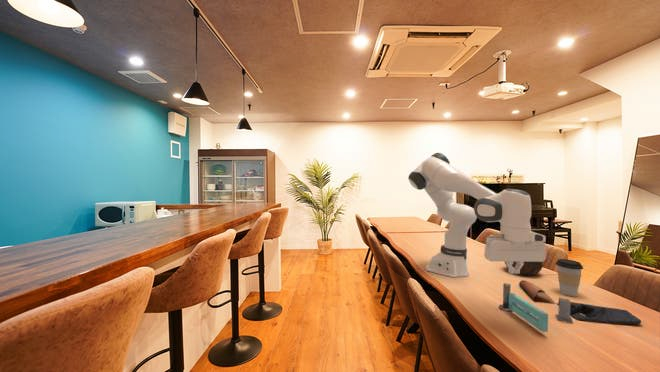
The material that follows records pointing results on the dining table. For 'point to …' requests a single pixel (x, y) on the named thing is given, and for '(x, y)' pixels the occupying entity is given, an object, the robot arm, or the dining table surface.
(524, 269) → the dark brown vase
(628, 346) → the dining table surface
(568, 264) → the coffee cup
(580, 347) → the dining table surface
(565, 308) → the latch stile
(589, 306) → the dark slate chunk
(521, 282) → the sunglasses case
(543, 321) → the gate
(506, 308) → the hinge post
